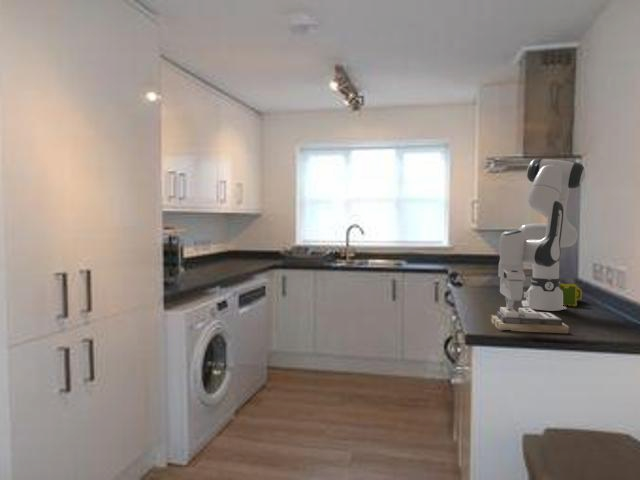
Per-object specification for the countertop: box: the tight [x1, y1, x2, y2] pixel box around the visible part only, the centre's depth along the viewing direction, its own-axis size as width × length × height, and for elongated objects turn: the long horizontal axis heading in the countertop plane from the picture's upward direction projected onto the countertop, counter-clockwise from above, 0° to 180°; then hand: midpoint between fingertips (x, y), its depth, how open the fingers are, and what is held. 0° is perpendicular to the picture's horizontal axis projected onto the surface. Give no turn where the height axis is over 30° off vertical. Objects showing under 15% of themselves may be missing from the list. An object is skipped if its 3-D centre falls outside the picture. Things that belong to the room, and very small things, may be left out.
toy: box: [559, 283, 583, 307], centre depth 249 cm, size 17×10×30 cm
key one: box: [499, 306, 519, 318], centre depth 189 cm, size 11×4×2 cm, turn 171°
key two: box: [517, 307, 538, 319], centre depth 188 cm, size 11×4×2 cm, turn 171°
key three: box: [536, 311, 559, 319], centre depth 187 cm, size 11×4×2 cm, turn 171°
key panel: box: [490, 310, 570, 334], centre depth 188 cm, size 16×24×4 cm, turn 81°
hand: (509, 308), depth 189 cm, fingers closed
